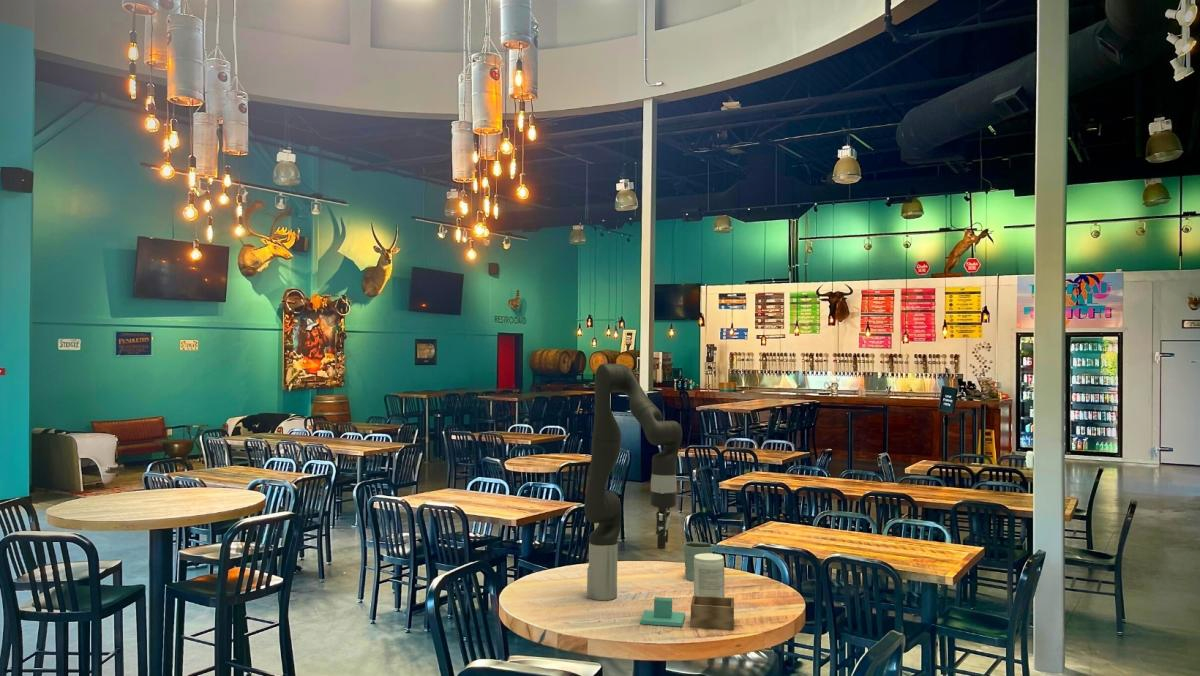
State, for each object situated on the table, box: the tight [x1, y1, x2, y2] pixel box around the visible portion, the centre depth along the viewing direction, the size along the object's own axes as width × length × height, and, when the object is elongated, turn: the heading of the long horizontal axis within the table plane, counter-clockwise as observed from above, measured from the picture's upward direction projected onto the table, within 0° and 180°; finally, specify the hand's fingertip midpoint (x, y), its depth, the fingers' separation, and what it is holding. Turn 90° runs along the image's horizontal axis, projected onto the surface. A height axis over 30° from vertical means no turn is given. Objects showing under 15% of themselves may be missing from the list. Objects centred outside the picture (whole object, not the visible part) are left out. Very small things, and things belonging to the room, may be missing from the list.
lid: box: [639, 596, 686, 628], centre depth 240 cm, size 12×10×7 cm
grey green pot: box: [683, 541, 714, 582], centre depth 290 cm, size 10×10×12 cm
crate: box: [690, 594, 735, 631], centre depth 238 cm, size 12×10×7 cm
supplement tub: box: [693, 553, 726, 597], centre depth 260 cm, size 10×10×15 cm
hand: (662, 545), depth 240 cm, fingers open, 8 cm apart
